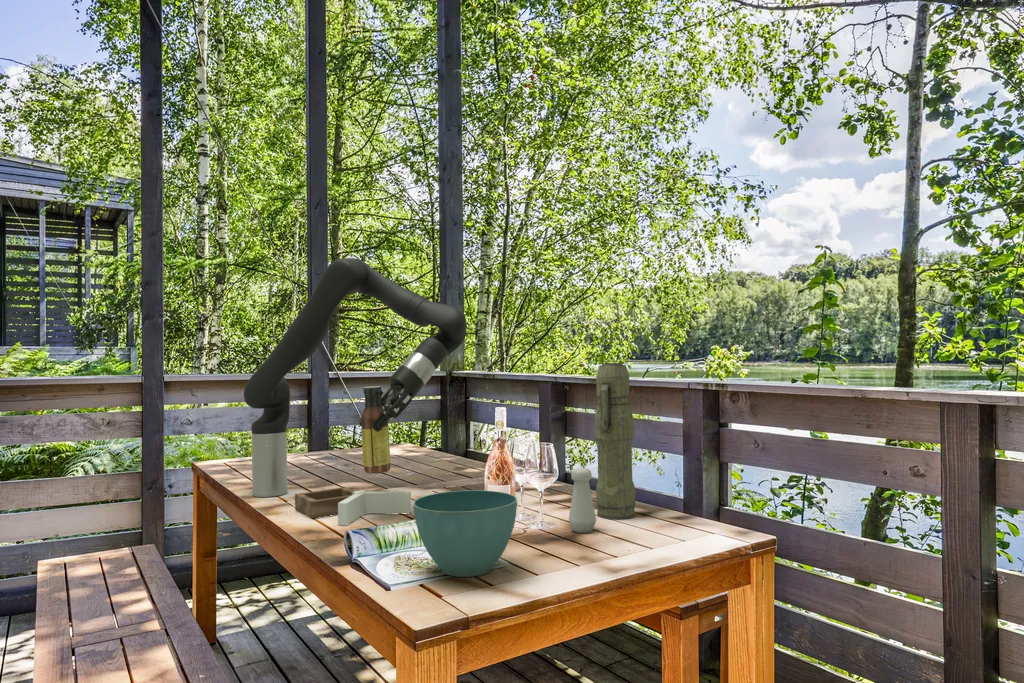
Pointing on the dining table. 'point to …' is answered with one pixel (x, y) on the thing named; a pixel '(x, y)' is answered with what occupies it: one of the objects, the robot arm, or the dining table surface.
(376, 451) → the sauce bottle
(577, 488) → the salt shaker
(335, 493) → the collar
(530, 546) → the dining table surface
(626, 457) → the thermos
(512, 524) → the plant pot
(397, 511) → the v block
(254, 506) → the dining table surface
